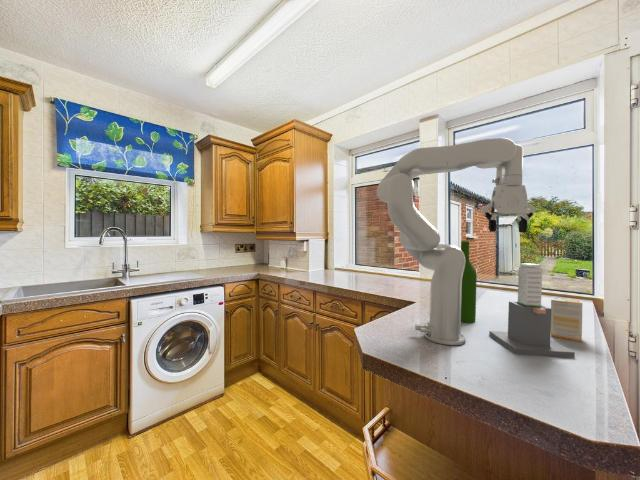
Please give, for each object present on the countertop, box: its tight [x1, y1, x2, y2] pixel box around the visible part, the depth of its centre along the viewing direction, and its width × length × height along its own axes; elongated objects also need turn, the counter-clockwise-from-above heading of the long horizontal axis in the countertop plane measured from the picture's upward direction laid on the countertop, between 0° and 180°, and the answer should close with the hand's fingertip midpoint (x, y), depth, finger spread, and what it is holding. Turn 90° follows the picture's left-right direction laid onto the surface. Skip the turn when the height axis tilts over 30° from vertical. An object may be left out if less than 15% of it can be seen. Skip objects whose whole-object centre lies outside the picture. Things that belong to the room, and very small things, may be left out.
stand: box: [488, 300, 576, 358], centre depth 91 cm, size 16×16×13 cm
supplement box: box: [550, 297, 583, 342], centre depth 99 cm, size 8×5×13 cm, turn 48°
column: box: [516, 262, 543, 307], centre depth 91 cm, size 5×5×19 cm
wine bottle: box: [460, 240, 478, 324], centre depth 118 cm, size 9×9×32 cm
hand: (507, 231), depth 99 cm, fingers open, 9 cm apart
